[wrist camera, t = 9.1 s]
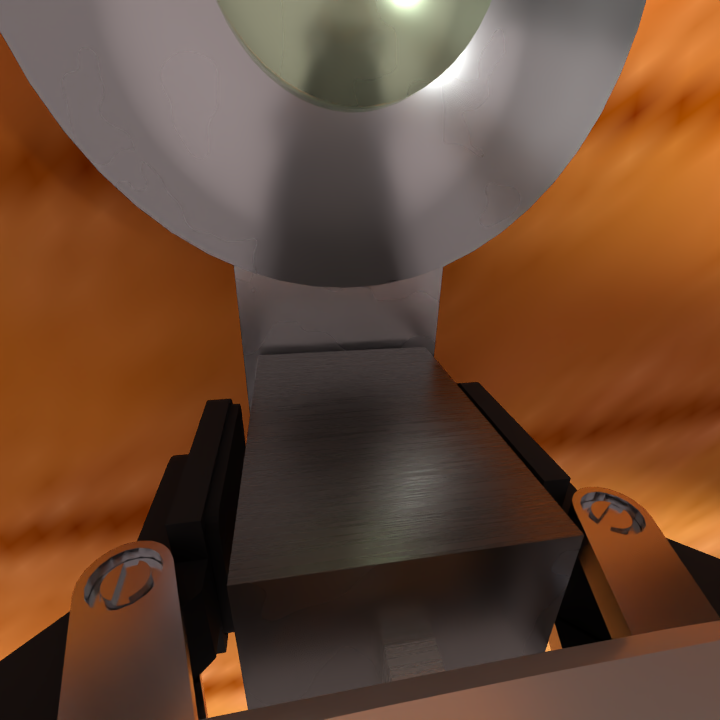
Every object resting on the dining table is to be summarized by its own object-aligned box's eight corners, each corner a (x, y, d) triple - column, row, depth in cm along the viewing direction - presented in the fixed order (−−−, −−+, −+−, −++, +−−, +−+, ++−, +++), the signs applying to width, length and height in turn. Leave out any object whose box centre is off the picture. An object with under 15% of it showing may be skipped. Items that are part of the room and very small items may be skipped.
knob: (258, 355, 10) (219, 631, 4) (424, 346, 11) (612, 569, 5) (271, 495, 12) (259, 832, 6) (412, 480, 13) (535, 765, 7)
